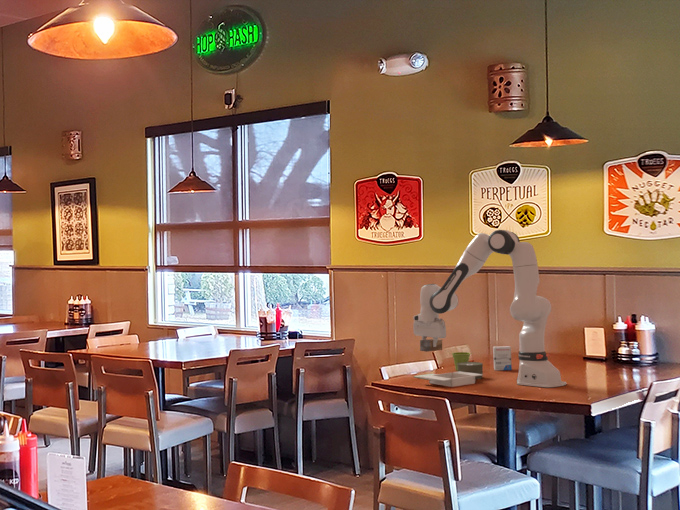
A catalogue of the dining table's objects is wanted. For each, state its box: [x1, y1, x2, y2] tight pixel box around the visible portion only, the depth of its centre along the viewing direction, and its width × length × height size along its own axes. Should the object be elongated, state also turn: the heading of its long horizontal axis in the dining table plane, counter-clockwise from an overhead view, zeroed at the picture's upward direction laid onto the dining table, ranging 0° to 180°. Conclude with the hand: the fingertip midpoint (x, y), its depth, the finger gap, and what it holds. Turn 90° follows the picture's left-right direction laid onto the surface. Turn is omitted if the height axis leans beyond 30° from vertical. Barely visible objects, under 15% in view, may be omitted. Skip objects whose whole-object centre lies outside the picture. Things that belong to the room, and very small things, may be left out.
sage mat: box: [413, 373, 437, 381], centre depth 388 cm, size 12×12×1 cm
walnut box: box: [419, 338, 443, 352], centre depth 388 cm, size 5×10×5 cm, turn 125°
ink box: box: [492, 345, 513, 371], centre depth 408 cm, size 9×5×12 cm, turn 84°
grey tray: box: [420, 371, 484, 388], centre depth 368 cm, size 15×25×4 cm, turn 125°
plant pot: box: [451, 351, 471, 372], centre depth 409 cm, size 9×9×9 cm
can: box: [457, 361, 484, 380], centre depth 384 cm, size 12×12×7 cm
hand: (429, 346), depth 388 cm, fingers closed on walnut box, 4 cm apart
